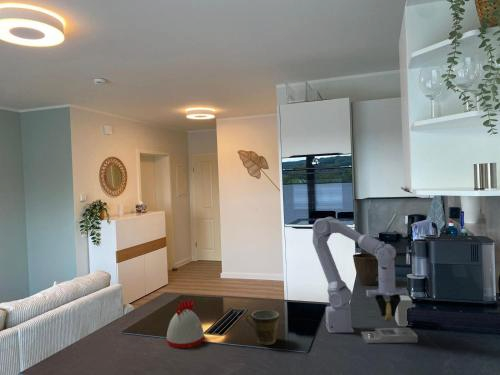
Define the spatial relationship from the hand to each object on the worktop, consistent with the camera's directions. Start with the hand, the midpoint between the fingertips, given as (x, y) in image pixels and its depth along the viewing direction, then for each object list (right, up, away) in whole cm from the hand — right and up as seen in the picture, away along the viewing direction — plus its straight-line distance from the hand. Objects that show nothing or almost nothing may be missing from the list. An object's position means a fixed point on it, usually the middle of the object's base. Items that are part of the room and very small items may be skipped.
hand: (387, 315), depth 139 cm
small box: (+12, -8, +15) cm, 21 cm away
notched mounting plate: (0, -8, 0) cm, 8 cm away
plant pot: (+16, -8, +76) cm, 78 cm away
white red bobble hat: (-75, -11, +5) cm, 76 cm away
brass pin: (0, -2, 0) cm, 2 cm away
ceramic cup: (-46, -10, +2) cm, 47 cm away
